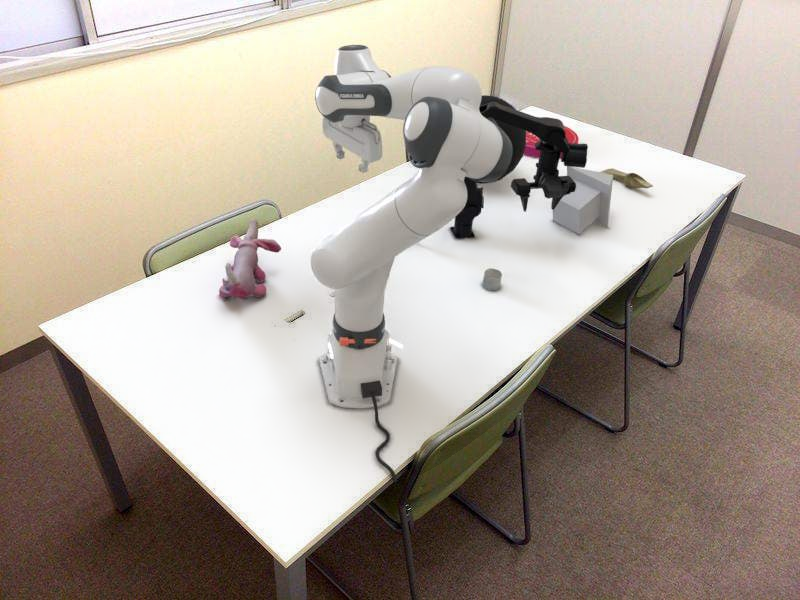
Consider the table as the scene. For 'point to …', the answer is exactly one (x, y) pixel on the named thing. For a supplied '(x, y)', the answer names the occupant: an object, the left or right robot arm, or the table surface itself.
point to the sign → (532, 139)
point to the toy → (247, 265)
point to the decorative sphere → (512, 132)
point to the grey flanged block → (585, 200)
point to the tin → (492, 279)
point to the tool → (629, 178)
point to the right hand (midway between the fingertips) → (538, 210)
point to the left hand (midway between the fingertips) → (351, 164)
